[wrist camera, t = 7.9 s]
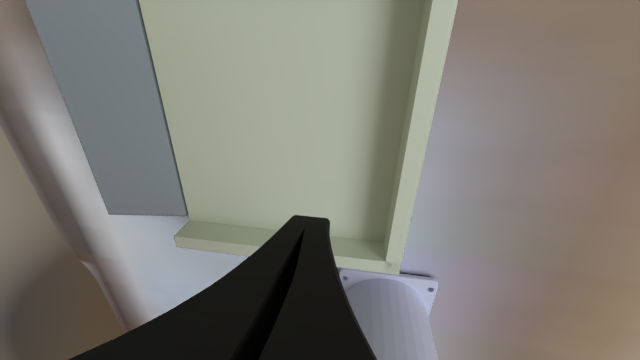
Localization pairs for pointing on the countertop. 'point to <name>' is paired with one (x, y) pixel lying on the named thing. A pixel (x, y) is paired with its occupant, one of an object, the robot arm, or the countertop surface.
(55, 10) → the panel
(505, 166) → the countertop surface
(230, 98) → the tray
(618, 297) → the countertop surface
